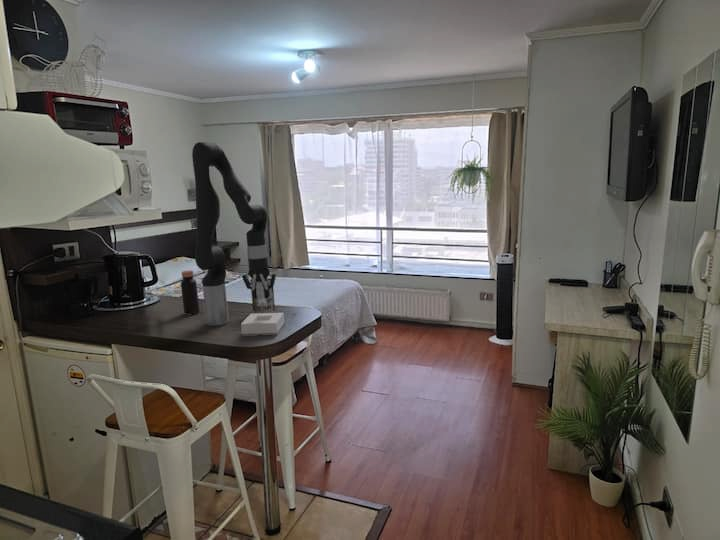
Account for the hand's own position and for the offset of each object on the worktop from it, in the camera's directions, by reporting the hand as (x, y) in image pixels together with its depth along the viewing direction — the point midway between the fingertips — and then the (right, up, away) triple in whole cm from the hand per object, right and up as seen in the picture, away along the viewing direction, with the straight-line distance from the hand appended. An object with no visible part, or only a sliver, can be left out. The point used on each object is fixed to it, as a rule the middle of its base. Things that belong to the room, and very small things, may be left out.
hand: (261, 298), depth 185 cm
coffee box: (-4, -9, +26) cm, 28 cm away
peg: (0, -3, +1) cm, 3 cm away
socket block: (0, -13, +3) cm, 13 cm away
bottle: (-39, -9, +31) cm, 51 cm away
